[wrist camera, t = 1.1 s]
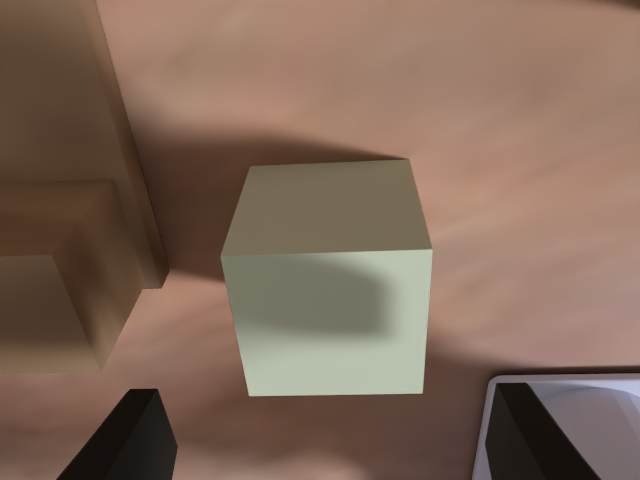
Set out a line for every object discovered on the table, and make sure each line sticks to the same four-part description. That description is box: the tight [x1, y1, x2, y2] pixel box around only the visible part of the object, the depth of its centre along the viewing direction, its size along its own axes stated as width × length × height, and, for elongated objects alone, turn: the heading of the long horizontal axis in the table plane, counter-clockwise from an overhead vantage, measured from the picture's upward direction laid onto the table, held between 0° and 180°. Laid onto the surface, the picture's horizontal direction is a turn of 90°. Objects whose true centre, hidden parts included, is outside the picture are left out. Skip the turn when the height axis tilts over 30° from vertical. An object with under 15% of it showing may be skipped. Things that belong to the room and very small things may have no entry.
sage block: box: [220, 159, 433, 396], centre depth 16 cm, size 5×5×5 cm
